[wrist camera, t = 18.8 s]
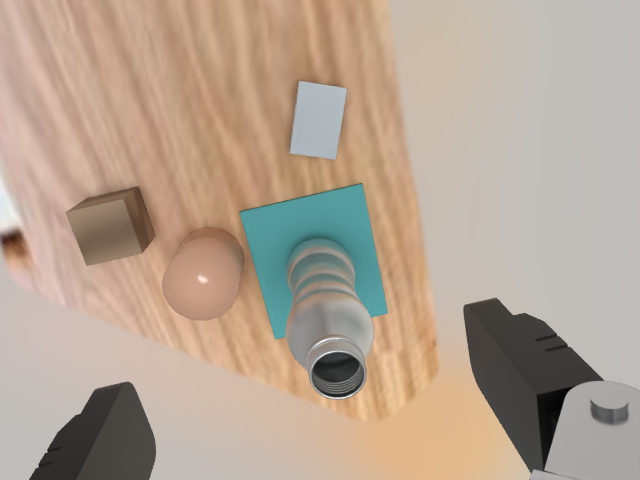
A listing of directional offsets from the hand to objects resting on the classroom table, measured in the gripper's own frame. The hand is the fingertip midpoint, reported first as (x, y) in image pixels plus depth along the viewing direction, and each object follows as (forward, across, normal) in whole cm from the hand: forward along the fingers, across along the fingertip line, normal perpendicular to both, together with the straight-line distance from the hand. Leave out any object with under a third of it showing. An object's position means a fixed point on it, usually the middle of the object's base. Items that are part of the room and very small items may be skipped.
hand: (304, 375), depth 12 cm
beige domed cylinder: (+38, +10, +9) cm, 40 cm away
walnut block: (+38, +17, +3) cm, 42 cm away
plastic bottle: (+38, 0, +12) cm, 39 cm away
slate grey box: (+38, -3, -2) cm, 38 cm away
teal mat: (+38, 0, +12) cm, 40 cm away
